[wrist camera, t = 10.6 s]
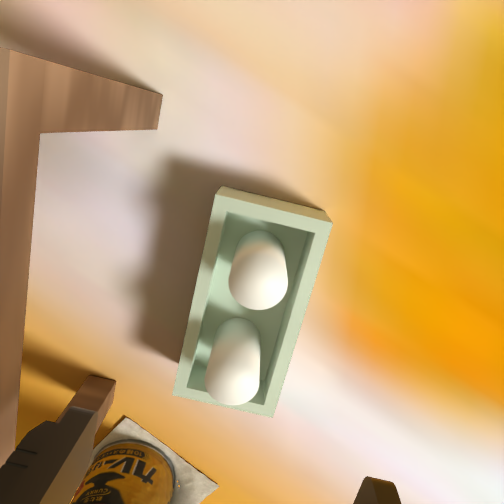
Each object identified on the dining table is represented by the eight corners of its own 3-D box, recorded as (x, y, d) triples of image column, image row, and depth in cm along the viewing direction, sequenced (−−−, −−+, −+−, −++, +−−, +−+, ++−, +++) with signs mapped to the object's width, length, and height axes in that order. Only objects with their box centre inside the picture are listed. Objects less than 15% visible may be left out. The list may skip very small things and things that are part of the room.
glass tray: (221, 185, 23) (209, 201, 18) (324, 211, 23) (340, 233, 18) (182, 365, 27) (163, 419, 22) (272, 386, 27) (273, 444, 22)
